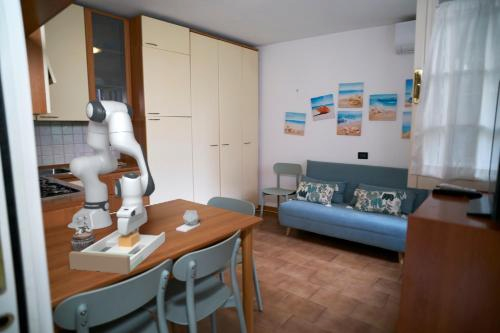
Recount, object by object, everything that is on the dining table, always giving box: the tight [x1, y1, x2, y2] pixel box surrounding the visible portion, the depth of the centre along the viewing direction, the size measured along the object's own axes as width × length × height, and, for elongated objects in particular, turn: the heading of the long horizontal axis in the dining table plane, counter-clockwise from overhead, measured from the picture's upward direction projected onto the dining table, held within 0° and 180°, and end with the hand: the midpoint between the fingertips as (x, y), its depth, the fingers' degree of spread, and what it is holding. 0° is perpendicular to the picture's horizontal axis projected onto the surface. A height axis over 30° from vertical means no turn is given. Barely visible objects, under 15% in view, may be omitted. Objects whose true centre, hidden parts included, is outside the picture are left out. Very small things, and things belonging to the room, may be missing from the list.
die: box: [182, 209, 200, 226], centre depth 177 cm, size 8×9×10 cm
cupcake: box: [70, 226, 96, 252], centre depth 142 cm, size 10×10×10 cm
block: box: [118, 231, 140, 247], centre depth 142 cm, size 6×8×4 cm
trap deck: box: [68, 229, 166, 275], centre depth 137 cm, size 24×34×6 cm
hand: (134, 237), depth 146 cm, fingers closed
